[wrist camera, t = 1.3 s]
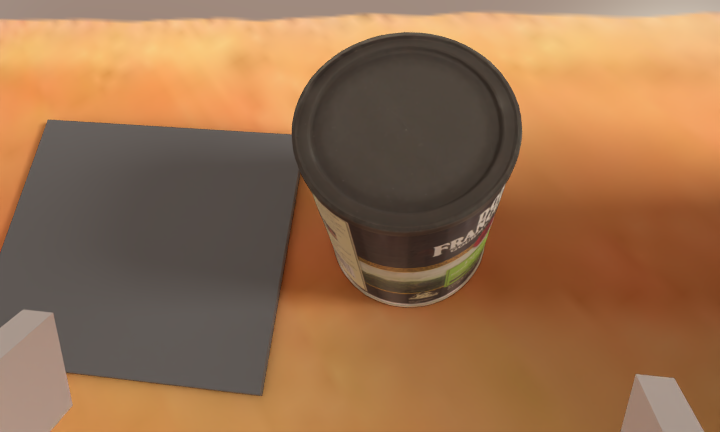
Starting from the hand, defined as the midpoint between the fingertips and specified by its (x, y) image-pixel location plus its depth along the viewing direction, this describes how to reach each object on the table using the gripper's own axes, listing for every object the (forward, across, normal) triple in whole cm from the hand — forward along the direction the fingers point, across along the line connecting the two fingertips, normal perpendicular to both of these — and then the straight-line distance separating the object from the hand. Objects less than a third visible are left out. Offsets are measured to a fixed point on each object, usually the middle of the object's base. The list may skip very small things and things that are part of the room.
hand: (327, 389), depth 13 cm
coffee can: (+25, +1, -8) cm, 26 cm away
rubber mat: (+24, -17, -9) cm, 31 cm away
